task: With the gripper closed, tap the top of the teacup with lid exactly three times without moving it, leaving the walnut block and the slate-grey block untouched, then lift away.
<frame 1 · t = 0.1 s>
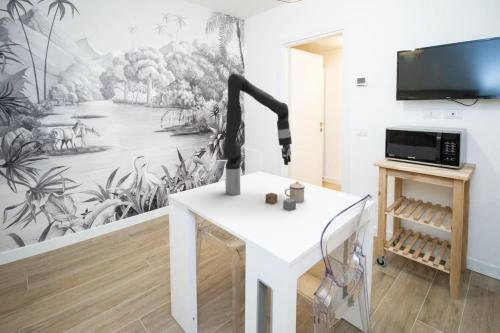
hand: (287, 163, 164), 22 cm above the table, tool pointing down, fingers open, 8 cm apart
walnut block: (271, 202, 163), on the table
teacup with lid: (294, 200, 166), on the table
slate-grey block: (289, 208, 153), on the table
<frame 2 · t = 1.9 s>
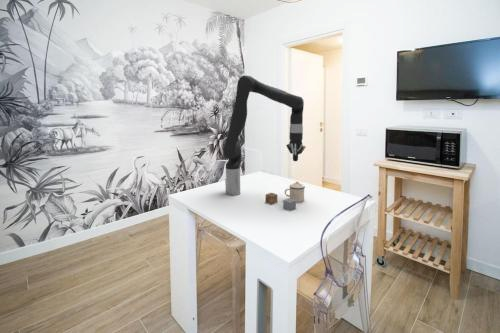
hand: (295, 160, 161), 24 cm above the table, tool pointing down, fingers closed
nothing on the table moved.
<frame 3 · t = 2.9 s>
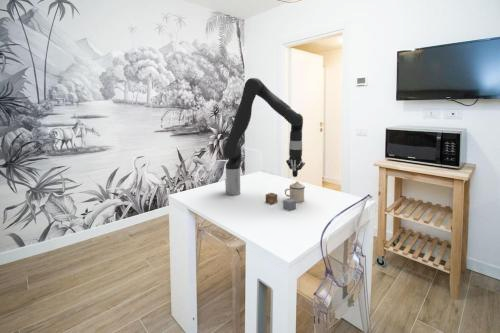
hand: (295, 176, 163), 15 cm above the table, tool pointing down, fingers closed
nothing on the table moved.
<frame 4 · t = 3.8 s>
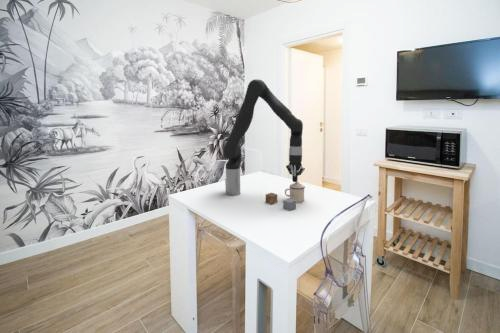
hand: (294, 181, 164), 12 cm above the table, tool pointing down, fingers closed
teacup with lid: (294, 200, 166), on the table, touching gripper
everything else where it was.
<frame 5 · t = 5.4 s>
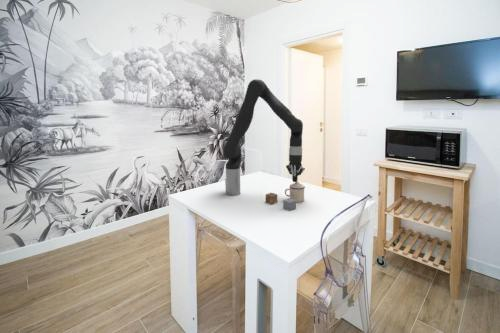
hand: (294, 181, 164), 12 cm above the table, tool pointing down, fingers closed
nothing on the table moved.
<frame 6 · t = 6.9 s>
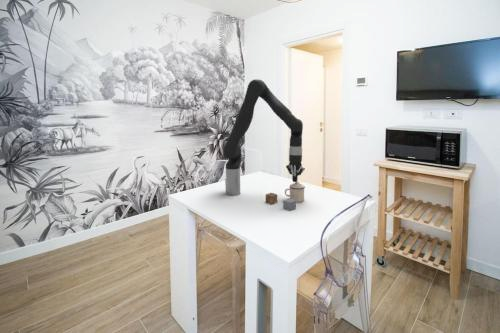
hand: (294, 181, 164), 12 cm above the table, tool pointing down, fingers closed
nothing on the table moved.
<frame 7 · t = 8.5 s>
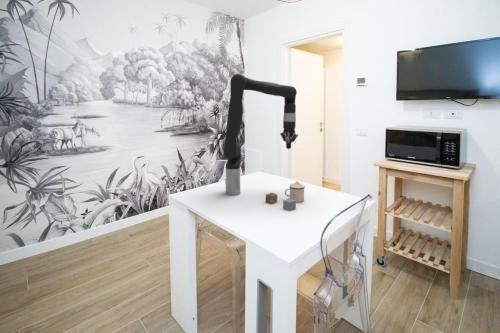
hand: (288, 148, 169), 30 cm above the table, tool pointing down, fingers closed
teacup with lid: (294, 200, 166), on the table
everything else where it was.
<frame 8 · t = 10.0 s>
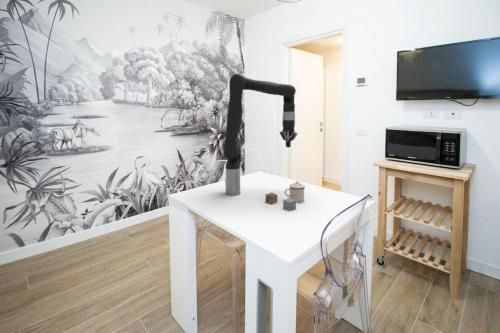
hand: (288, 147, 170), 31 cm above the table, tool pointing down, fingers closed
nothing on the table moved.
at the end: teacup with lid moved 0.2 cm from its start; teacup with lid tilted 0°; walnut block moved 0.1 cm from its start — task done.
